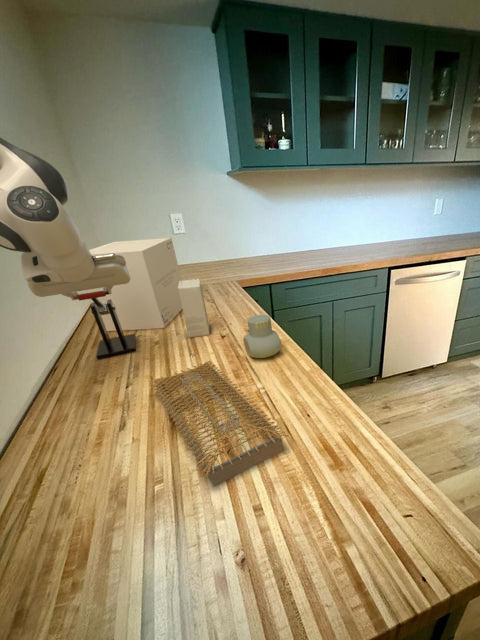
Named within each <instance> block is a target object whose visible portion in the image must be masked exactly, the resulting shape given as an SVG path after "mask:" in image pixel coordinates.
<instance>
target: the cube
mask: <svg viewBox="0 0 480 640" xmlns="http://www.w3.org/2000/svg"><path fill="white" fill-rule="evenodd" d="M89 251H90V253H91V254H92V256H97V255H108V254H115V255H120V256H123V257H124V259H125V261H126V267H127V269H128V271H129V275H130V279H131V280H130V282H129V283H127V284H121V285H114V286H113V287H112V289H111V292H112V294H108V295H106V296H104V297H98V299H99V300H100V302H101V303H106V304H107V300H110V299H111V300H112V303H113V305H115V308H116V310H115V311H116V314H117V317H118V319H119V322H120V325H121V328H122V330H123V331H135V330H154V329H164V328H166V327H167V326H168V325H169V324H170V323H171V321H173V319H174V318H175V317H176V316H177V315H178V314H179V313H181V311H183V308H182V304H181V300H180V296H179V291H178V284H179V281H183V279H182V275H181V272H180V267H179V262H178V259H177V255H176V252H175V247H174V243H173V238H172V237H162V238H147V239H135V240H121V241H119V240H118V241H113V242H109V243H106V244H103V245H100V246H97V247H93V248H90V249H89ZM85 291H86V293H91V292H97V291H103V287H102V288H96V289H89V290H85ZM88 300H89V302H90V305H91V304H92V302H93V301H92V299H88ZM101 317H102V319H103V322H104V325H105V327H106V330H107V332H117V331H116V328H115V326H114V323H113V320H112V317H111V315H110V314H106V315H101Z"/></svg>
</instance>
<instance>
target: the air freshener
mask: <svg viewBox="0 0 480 640" xmlns="http://www.w3.org/2000/svg"><path fill="white" fill-rule="evenodd" d="M247 327H248V328H247V329H248V333H247V334H246V335H244V337H243V338H242V340H243V345H244V348H245V351H246V353H247V355H248V356H250V357H252V358H255V359H266V358H269V357H272V356H274V355H276V354H277V353H279V352H280V351H281V349H282V347H283V346H282V341H281V338H280V335H279V334H278V333H277V331H275V330H273V328H272V319H271V317H270V316H269V315H268V314H264V313H263V314H254V315H251V316H250V317H248V318H247Z"/></svg>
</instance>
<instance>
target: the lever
mask: <svg viewBox="0 0 480 640" xmlns="http://www.w3.org/2000/svg"><path fill="white" fill-rule="evenodd" d="M104 296H106V295H105V293H104V291H97V292H91V293H87V292H86V293H78V295H77V297H78V299H77V300H78V301H85V300H86V301H87V300H89V299H92V301H93V302H94V303H95V304H96V305H97V308H98V311H99V313H100V314H101V315H106V314H110V312H109V309H108V307H107V304H106V303H101V302H100V300H99V299H98V297H104Z"/></svg>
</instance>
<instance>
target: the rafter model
mask: <svg viewBox="0 0 480 640" xmlns="http://www.w3.org/2000/svg"><path fill="white" fill-rule="evenodd" d="M216 366H217V365H215V363H213V362H212V361H211V360H208V361H205V362H204V363H199V365H198V366H197V365H193V368H190V367H187V368H186V369H187V370H182V369H180V372H179V373H178V372H174V375H173V374H172V375H170V374H167V376H165V377H163V376H160V378H159V377H158V378H154V379H151V380H148V382H149V384H150V385H151V387H152V389H153V391H155V394H156V396H157V397H158V399H159V400H160V402H162V405H164V407H163V408H164V409H166V410H165V412H168V415H170V417H169V418H170V419H172V422H174V426H177V427H176V430H179V432H178V433H179V434H181V438H184V440H183V442H186V443H187V444H186V447H189V451H192V454H191V455H192V456H195V458H194V461H195V460H197V461H198V462H197V465H199V466H198V467H199V468H202V473H203V474H204V473H205V478H208V480H209V481H210V483H211V484H212V486H213V487H216V486H218V485H220V484H222V483H224V482H226V481H228V480H230V479H232V478H233V477H236V476H237V475H240V474H241V473H243V472H246V471H247V470H249V469H251V468H253V467H254V466H257V465H259V464H261V463H263V462H264V461H266V460H268V459H270V458H272V457H274V456H276V455H278V454H280V453H282V452H283V451H284V445H283V440H284V438H283V437H287V438H289V437H290V436H289V434H285V433H286V431H283V430H280V429H281V426H279V425H278V424H276V423H275V422H276V421H271V419H272V417H268V414H263V413H264V412H265V411H264V410H261V411H258V410H260V409H261V407H257V404H253V403H254V401H253V400H251V398H250V397H248V395H247V394H245V392H244V391H242V389H240V388H239V386H236V383H233V381H231V378H228V376H226V375H225V373H223V371H221V369H218V368H219V367H216ZM238 388H239V389H238ZM224 398H225V399H224ZM249 400H250V401H249ZM227 401H228V402H227ZM213 402H214V403H213ZM229 405H230V406H229ZM232 408H234V409H232ZM219 409H220V410H219ZM211 411H212V412H211ZM209 412H211V413H209ZM234 412H236V413H234ZM190 415H191V416H190ZM213 415H215V416H213ZM238 415H239V416H238ZM265 417H268V418H265ZM194 418H196V419H194ZM217 418H219V419H218V420H215V419H217ZM193 419H194V420H193ZM241 419H242V420H241ZM222 421H223V422H222ZM197 422H198V423H197ZM219 422H222V423H221V424H218V423H219ZM193 423H194V424H193ZM273 424H276V425H273ZM200 425H201V427H198V426H200ZM196 427H197V428H196ZM203 429H204V430H203ZM251 429H252V432H250V430H251ZM201 430H203V431H201ZM198 431H200V432H198ZM243 432H245V434H244V433H243ZM205 433H207V435H203V434H205ZM202 435H203V436H202ZM240 435H242V436H241V437H240ZM235 436H237V437H238V438H237V439H235V440H233V438H234V437H235ZM262 436H266V437H267V438H268V440H266V441H265V440H264V439H263V438H262ZM208 437H210V439H208V440H205V439H207V438H208ZM255 438H257V439H258V440H259V441H260V442H261V443H260V444H258V445H256V444H255V442H254V441H253V439H255ZM215 440H216V441H215ZM232 440H233V441H232ZM242 440H243V441H242ZM212 441H213V443H212V444H208V443H210V442H212ZM238 442H239V443H238ZM247 442H249V443H250V444H251V445H252V446H253V447H252V448H250V449H249V450H248V449H247V447H246V446H245V443H247ZM233 443H234V444H233ZM222 444H223V445H222ZM216 445H217V447H214V446H216ZM238 446H241V447H242V448H243V450H244V451H243V452H241V453H240V454H239V453H238V452H237V449H236V448H237V447H238ZM212 447H214V448H212ZM220 449H221V450H220ZM230 450H232V451H233V453H235V454H236V456H233V457H231V458H230V457H229V455H228V453H227V452H228V451H230ZM208 451H209V452H208ZM219 455H224V456H225V458H226V459H227V460H226V461H224V462H222V463H221V462H220V460H219V458H218V457H219ZM216 462H217V465H215V463H216Z"/></svg>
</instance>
